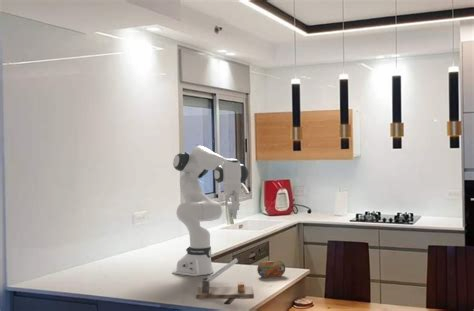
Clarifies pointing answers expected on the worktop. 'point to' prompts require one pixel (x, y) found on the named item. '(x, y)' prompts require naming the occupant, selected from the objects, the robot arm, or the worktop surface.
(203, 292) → the latch base
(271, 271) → the tin
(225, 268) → the latch lever
